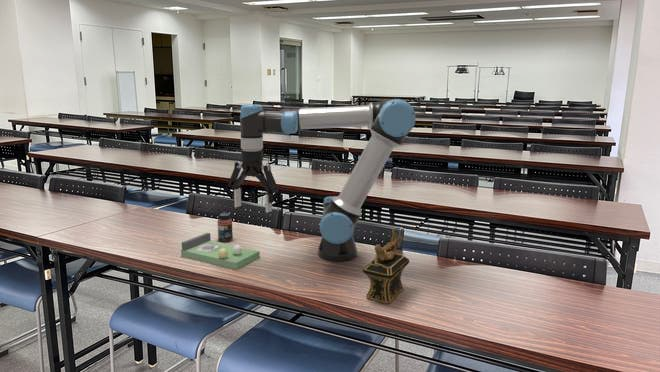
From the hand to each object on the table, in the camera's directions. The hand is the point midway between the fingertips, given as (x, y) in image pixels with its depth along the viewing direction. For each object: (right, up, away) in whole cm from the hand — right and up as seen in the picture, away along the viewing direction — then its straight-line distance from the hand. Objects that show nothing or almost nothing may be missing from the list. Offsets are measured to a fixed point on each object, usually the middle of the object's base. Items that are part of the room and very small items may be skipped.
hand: (253, 209), depth 166 cm
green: (-14, -19, +11) cm, 26 cm away
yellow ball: (-11, -16, +2) cm, 20 cm away
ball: (-7, -15, +6) cm, 18 cm away
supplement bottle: (-16, -15, +30) cm, 37 cm away
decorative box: (+46, -26, -16) cm, 55 cm away
